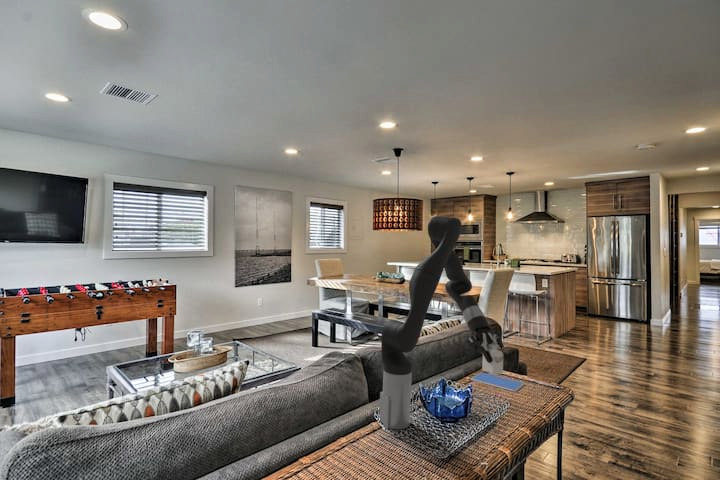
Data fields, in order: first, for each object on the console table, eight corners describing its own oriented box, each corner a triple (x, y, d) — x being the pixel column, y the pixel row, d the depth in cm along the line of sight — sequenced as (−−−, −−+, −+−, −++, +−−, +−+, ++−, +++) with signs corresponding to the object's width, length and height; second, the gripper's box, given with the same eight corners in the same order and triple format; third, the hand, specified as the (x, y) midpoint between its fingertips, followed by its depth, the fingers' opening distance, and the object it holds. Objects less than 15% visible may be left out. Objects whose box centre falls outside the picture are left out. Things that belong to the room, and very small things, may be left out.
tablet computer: (470, 381, 167) (470, 378, 167) (481, 374, 177) (481, 371, 177) (515, 393, 154) (515, 390, 154) (524, 385, 164) (524, 382, 164)
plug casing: (492, 374, 133) (493, 347, 133) (482, 369, 138) (483, 343, 138) (502, 373, 135) (503, 346, 135) (491, 368, 140) (492, 342, 140)
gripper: (465, 315, 141) (485, 357, 130) (495, 314, 146) (518, 354, 135) (455, 326, 146) (475, 368, 135) (485, 324, 151) (506, 364, 140)
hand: (496, 361), depth 135 cm, fingers closed on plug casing, 4 cm apart
